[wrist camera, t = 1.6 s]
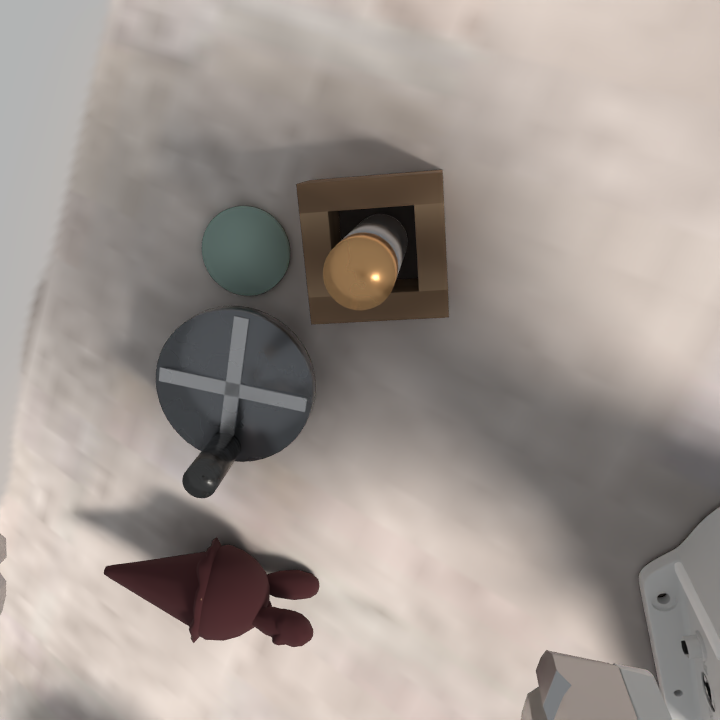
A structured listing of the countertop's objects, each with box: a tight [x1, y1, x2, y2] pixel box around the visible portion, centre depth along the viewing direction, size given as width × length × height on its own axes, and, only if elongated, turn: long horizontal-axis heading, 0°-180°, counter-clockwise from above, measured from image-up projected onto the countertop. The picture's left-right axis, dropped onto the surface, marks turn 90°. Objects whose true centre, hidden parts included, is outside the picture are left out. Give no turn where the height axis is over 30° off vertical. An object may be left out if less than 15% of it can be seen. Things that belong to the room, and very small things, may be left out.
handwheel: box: [156, 306, 316, 498], centre depth 41 cm, size 10×10×6 cm
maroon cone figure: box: [104, 537, 319, 647], centre depth 48 cm, size 7×7×15 cm
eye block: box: [296, 170, 449, 324], centre depth 40 cm, size 8×8×4 cm
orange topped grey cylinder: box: [323, 214, 408, 310], centre depth 37 cm, size 3×3×11 cm
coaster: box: [202, 206, 290, 296], centre depth 43 cm, size 6×6×1 cm
